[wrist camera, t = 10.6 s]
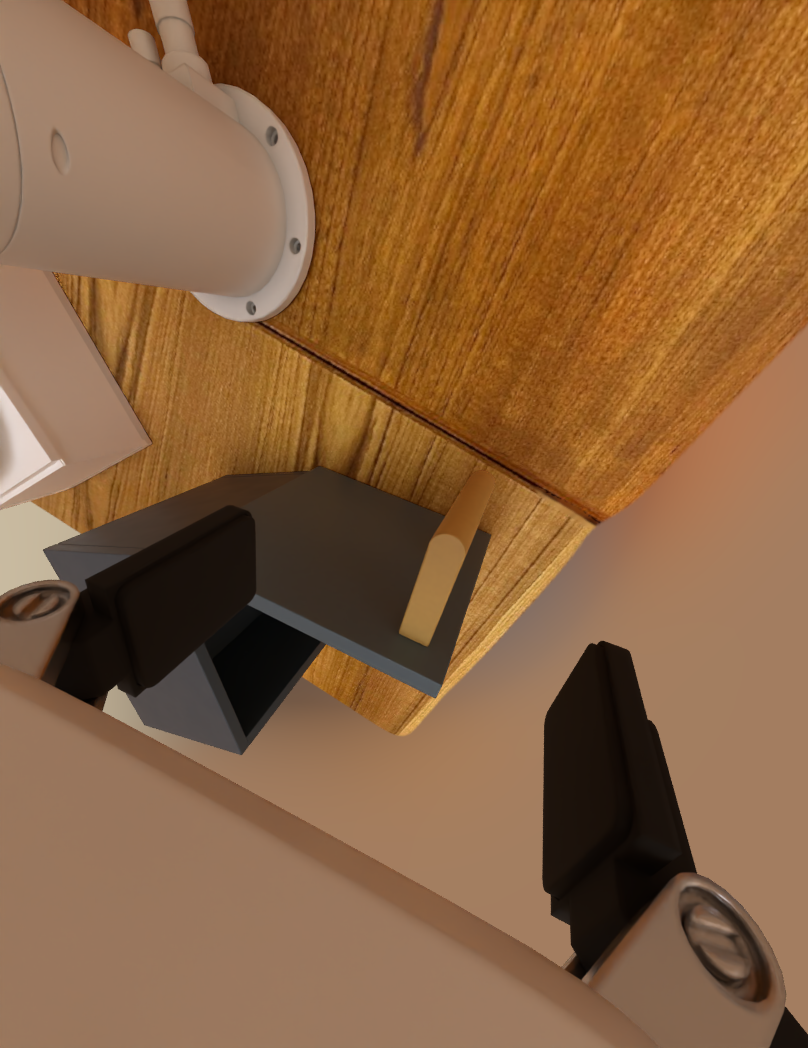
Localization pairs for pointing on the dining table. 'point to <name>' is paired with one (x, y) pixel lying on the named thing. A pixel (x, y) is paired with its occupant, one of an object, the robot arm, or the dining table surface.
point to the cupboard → (229, 654)
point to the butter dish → (54, 394)
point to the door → (371, 570)
